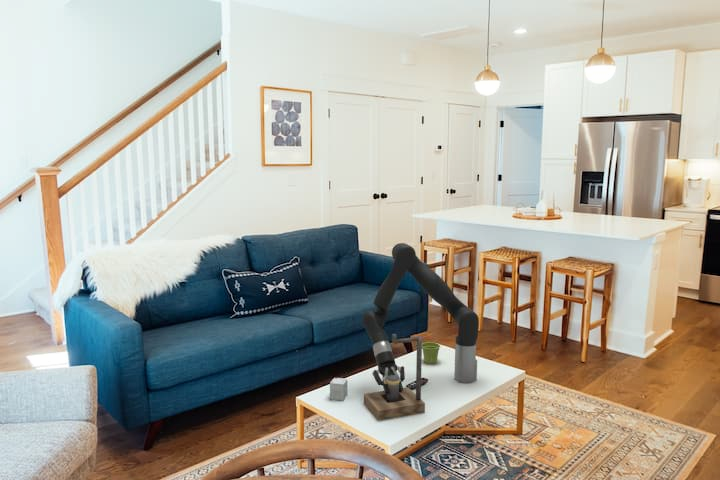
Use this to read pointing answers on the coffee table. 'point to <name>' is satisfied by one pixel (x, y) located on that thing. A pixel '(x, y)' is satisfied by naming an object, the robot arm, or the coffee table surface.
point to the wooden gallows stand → (407, 398)
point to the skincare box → (338, 389)
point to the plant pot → (430, 352)
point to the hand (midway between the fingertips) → (394, 392)
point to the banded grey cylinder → (393, 388)
